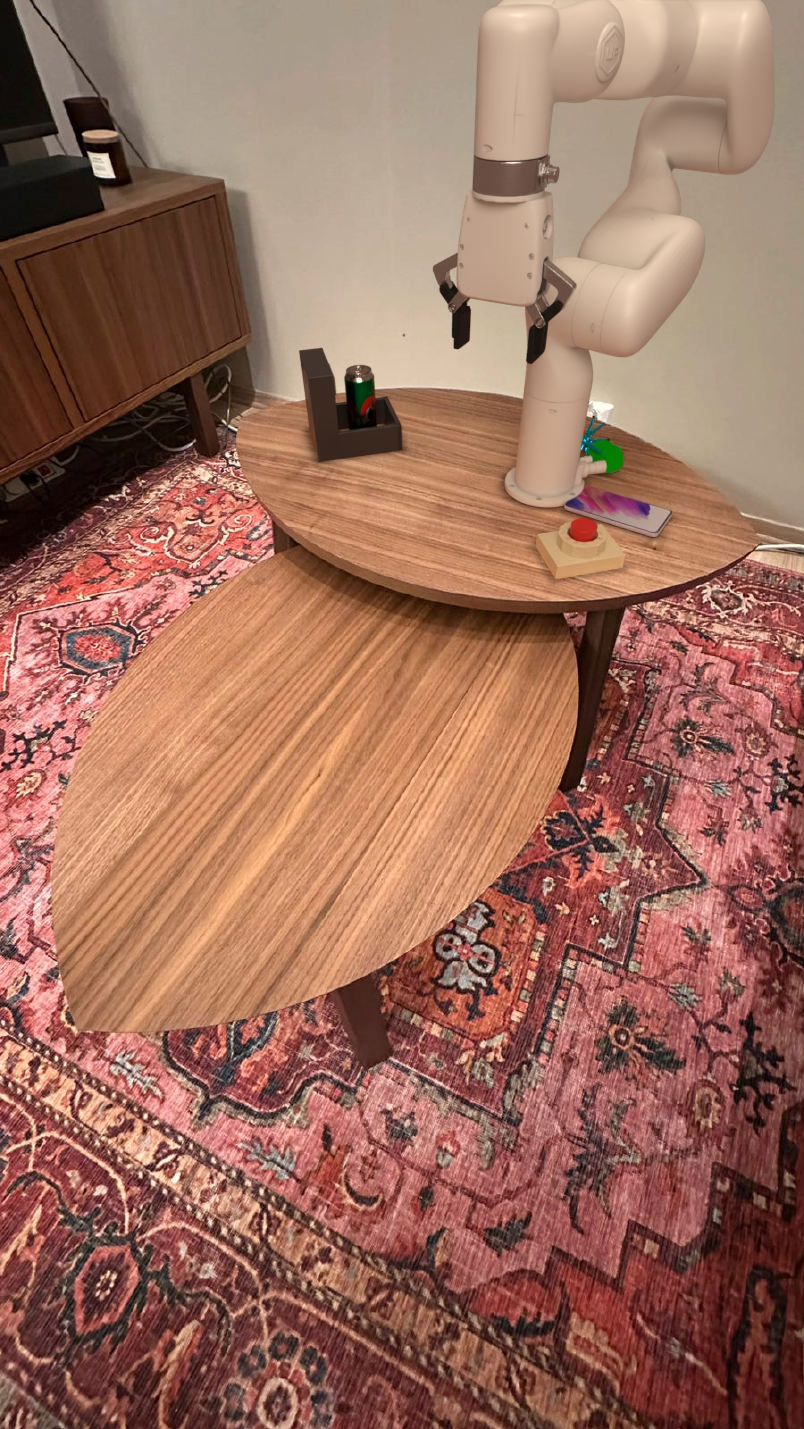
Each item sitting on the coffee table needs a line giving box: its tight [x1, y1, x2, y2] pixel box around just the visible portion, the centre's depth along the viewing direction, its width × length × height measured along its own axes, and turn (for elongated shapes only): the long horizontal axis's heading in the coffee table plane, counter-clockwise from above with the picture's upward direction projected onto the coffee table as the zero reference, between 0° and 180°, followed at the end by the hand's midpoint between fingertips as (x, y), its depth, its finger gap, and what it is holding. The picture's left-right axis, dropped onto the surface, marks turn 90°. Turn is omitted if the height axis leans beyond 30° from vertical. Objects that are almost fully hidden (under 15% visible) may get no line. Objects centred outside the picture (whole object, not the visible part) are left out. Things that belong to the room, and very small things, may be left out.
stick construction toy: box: [580, 414, 625, 474], centre depth 114 cm, size 12×7×8 cm
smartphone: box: [563, 484, 674, 538], centre depth 104 cm, size 7×1×15 cm
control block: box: [534, 520, 627, 580], centre depth 96 cm, size 10×8×4 cm
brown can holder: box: [298, 347, 403, 463], centre depth 117 cm, size 15×12×14 cm
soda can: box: [343, 364, 378, 430], centre depth 118 cm, size 5×5×12 cm
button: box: [569, 517, 598, 542], centre depth 94 cm, size 4×4×2 cm
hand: (496, 352), depth 83 cm, fingers open, 9 cm apart
